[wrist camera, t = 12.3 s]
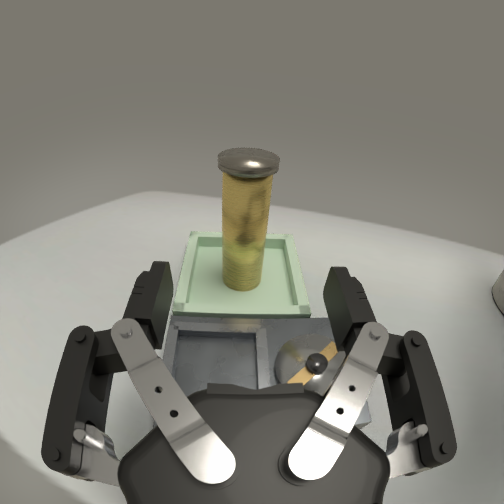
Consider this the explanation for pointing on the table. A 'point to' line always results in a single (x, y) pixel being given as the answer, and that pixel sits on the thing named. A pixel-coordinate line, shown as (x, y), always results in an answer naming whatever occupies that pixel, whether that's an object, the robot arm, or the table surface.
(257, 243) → the pin
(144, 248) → the table surface
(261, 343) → the crank deck
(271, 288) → the tray
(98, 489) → the table surface
